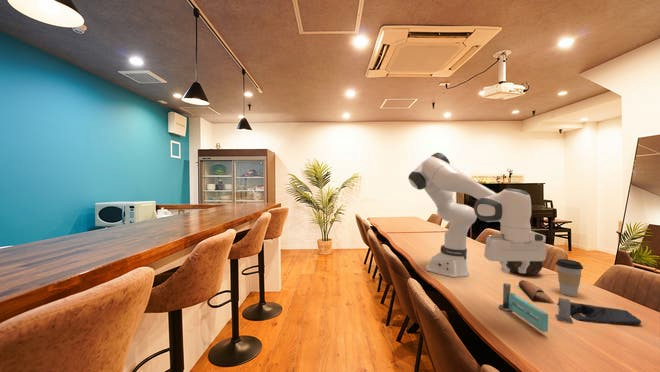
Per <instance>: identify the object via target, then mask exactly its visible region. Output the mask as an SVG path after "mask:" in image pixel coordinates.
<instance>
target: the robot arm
mask: <svg viewBox="0 0 660 372" xmlns="http://www.w3.org/2000/svg"><path fill="white" fill-rule="evenodd" d="M408 181H409V184H410V185H411V186H412V187H413V188H414V189H416V190H424V192H426V194H427V195H428V196H429V197H430V199H431V200H432V201H433V203H434V204H435V206H436V209H437V210H436V213H437V215H438V217H439V218H440V219H442V220H444V221H445V222H450V224H449V227H448V230H446V231H445V232H444V244H442V245H441V246H440V252H438V253H436V254H435V255H433V256H432V257H431V258H430V261H429V263H428V264H426V265H425V268H424V269H425V270H426V271H427V272H431V273H435V274H439V275H442V276H446V277H450V278H457V277H460V278H462V277H467V276H469V274H470V273H469V270H468V265H467V259H468V248H467V238H468V237H467V235H468V232H469V229H470V228H471V226H472V225H473V224H474V223H476V221H477V218H478V219H479V220H480V221H483V222H486V223H491V222H493V223H494V222H499V223H500V230H499V231H500V233H499V234H498V233H497V234H494V233H493V234H490V235H488V236H487V237H486V238H485V247H484V254H483V255H484V258H485V259H487V260H488V261H491V262H499V264H500V267H502V273H504V274H510V273H511V272H510V271H511V270H510V269H509V268H508V267H507V266H506V264H507V261H521V262H522V265H521V267H518V269H519V270H518V272H519V273H526V269H527V267H528V266H529V264H530V261H542V262H544V261H545V260H546V259H547V245H546V243H545V241H546V239H547V236H546V235H544V234H541V233H538V232H535V231H533V230H532V226H531V225H532V224H531V217H532V199H531V195H530V193H528V192H527V191H525V190H523V189H518V188H504V189H503V190H502V191H500V192H498V193H497V192H496V191H494V190H493V189H490V188H489V187H487V186H485V185H483V184H482V183H480V182H479V181H476V180H474V179H473V178H471V177H470V176H469V175H467V174H465V173H464V172H462V171H461V170H459V169H457V168H456V167H454V166H453V165H452V164H451V163H450V159H448V157H447V156H446V155H444V154H443V153H441V152H435V153H433V154H432V155H431V156H430V157H427V158H426V159H425V160H424V161H423V162H421V163H420V164H419V165H418V166H416V168H415V169H414V170H413V171H411V172H410V173H409V175H408ZM454 193H459V194H466V195H468V196H471V197H473V198H475V199H476V201H475V203H474V207H471V206H470V205H467V204H462V203H457V202H456V201H455V200H454V198H453V196H454Z"/></svg>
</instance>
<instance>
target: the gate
mask: <svg viewBox="0 0 660 372" xmlns="http://www.w3.org/2000/svg"><path fill="white" fill-rule="evenodd" d="M509 309H510V310H512V311H513V312H512V313H515V314H516V315H517V316H519V317H520V318H522V319H523V320H525V322H527V323H529V324H530V325H532V326H533V327H535V328H536V329H537V330H539V331H541V332H542V333H548V331H549V313H547V312H545V311H543V310H542V309H540V308H539V307H537V306H535V305H534V304H533V303H530V302H529V301H527V300H525V299H523V298H522V297H520V296H519V295H517V294H516V293H512V292H510V293H509Z"/></svg>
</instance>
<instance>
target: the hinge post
mask: <svg viewBox="0 0 660 372" xmlns="http://www.w3.org/2000/svg"><path fill="white" fill-rule="evenodd" d="M502 285H503V286H502V287H503V288H502V304H499V305H498V308H499V309H500V310H501V311H504V312H506V313H507V312H508V313H514V312H513V311H512V310H510V309H509V293H511V286H512V285H511V284H510V283H506V282H505V283H503V284H502Z"/></svg>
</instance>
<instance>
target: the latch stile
mask: <svg viewBox="0 0 660 372" xmlns="http://www.w3.org/2000/svg"><path fill="white" fill-rule="evenodd" d="M558 304H559V306H558V305H557V306H558V309H557V310H558V313H555V317H556V320H557V321H561V322H565V323H569V324H574V321H573V319H572V316H570V307H571V300H570V299H568V298H564V297H558Z"/></svg>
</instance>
